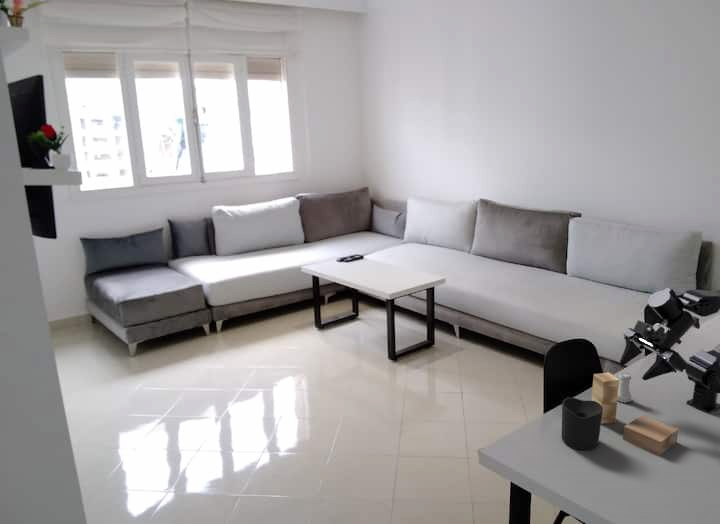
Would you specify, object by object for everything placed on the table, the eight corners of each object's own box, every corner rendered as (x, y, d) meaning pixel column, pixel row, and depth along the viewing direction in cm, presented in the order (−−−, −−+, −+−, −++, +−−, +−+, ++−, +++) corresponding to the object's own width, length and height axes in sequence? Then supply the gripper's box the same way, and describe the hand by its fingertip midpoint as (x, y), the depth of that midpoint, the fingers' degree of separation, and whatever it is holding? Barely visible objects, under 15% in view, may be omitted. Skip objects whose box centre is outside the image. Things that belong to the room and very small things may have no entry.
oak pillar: (604, 413, 151) (608, 372, 148) (615, 422, 146) (619, 379, 143) (590, 415, 150) (593, 374, 147) (600, 424, 146) (603, 381, 143)
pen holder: (580, 456, 132) (583, 419, 130) (551, 437, 140) (554, 402, 138) (608, 445, 136) (611, 409, 134) (578, 427, 144) (581, 393, 142)
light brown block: (640, 428, 144) (642, 414, 143) (676, 443, 137) (678, 429, 136) (622, 440, 139) (624, 426, 138) (658, 456, 132) (660, 442, 131)
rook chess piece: (633, 403, 156) (635, 378, 154) (616, 402, 156) (618, 377, 154) (628, 396, 160) (631, 371, 158) (612, 395, 161) (615, 370, 159)
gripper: (631, 300, 152) (593, 341, 153) (682, 323, 134) (638, 369, 135) (653, 324, 155) (615, 364, 156) (705, 349, 138) (662, 394, 138)
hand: (631, 371), depth 146 cm, fingers open, 9 cm apart
